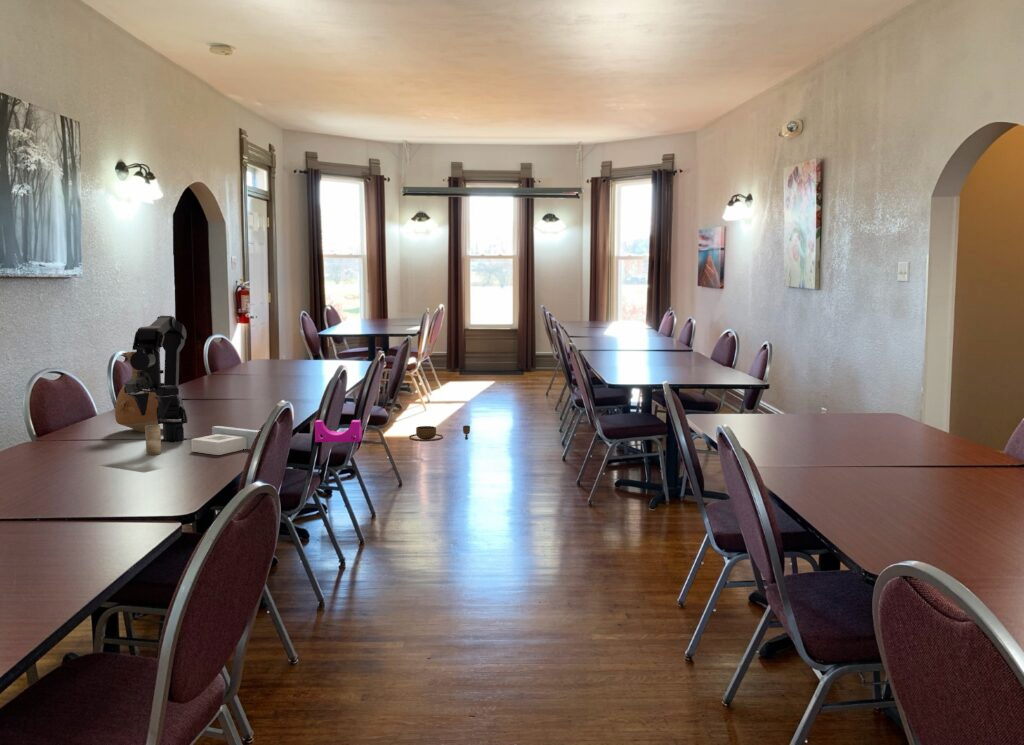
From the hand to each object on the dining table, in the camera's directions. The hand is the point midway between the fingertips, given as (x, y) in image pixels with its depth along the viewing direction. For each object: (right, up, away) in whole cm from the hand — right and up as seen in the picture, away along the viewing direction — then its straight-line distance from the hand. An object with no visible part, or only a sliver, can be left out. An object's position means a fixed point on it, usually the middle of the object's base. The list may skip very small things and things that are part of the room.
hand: (152, 416), depth 275 cm
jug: (-19, -8, +38) cm, 43 cm away
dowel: (0, -12, +1) cm, 12 cm away
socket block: (+19, -11, +7) cm, 23 cm away
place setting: (+87, -11, +27) cm, 92 cm away
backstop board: (+22, -11, +14) cm, 28 cm away
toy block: (+54, -10, +25) cm, 60 cm away
